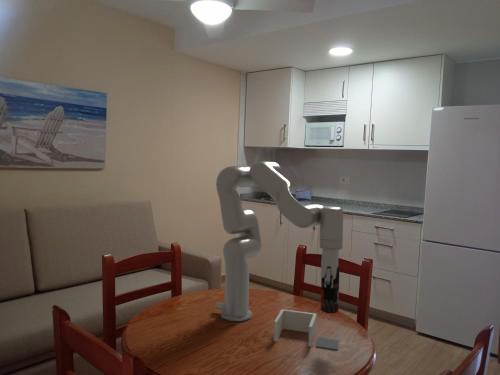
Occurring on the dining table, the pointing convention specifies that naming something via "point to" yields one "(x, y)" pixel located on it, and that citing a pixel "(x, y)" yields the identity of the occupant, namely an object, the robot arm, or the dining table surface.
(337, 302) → the deodorant
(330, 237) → the robot arm
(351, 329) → the dining table surface
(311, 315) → the u-shaped bracket
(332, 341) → the coaster
